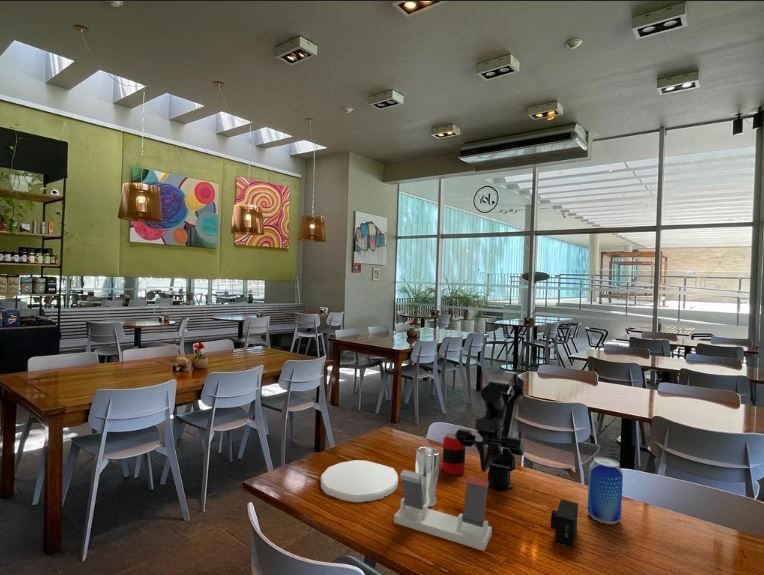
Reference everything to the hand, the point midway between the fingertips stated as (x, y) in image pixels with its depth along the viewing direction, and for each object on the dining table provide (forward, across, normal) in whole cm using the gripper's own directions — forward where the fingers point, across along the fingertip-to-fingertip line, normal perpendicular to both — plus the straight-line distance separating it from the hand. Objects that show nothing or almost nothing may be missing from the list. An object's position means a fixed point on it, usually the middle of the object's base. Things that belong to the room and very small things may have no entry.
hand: (483, 471), depth 119 cm
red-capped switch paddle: (+14, +1, -2) cm, 14 cm away
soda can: (-7, -19, +26) cm, 33 cm away
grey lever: (+14, -15, -4) cm, 21 cm away
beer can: (-2, +27, +26) cm, 38 cm away
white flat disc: (+10, -40, +5) cm, 42 cm away
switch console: (+17, -8, 0) cm, 18 cm away
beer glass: (+10, -17, +7) cm, 21 cm away
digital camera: (+8, +20, +14) cm, 25 cm away
